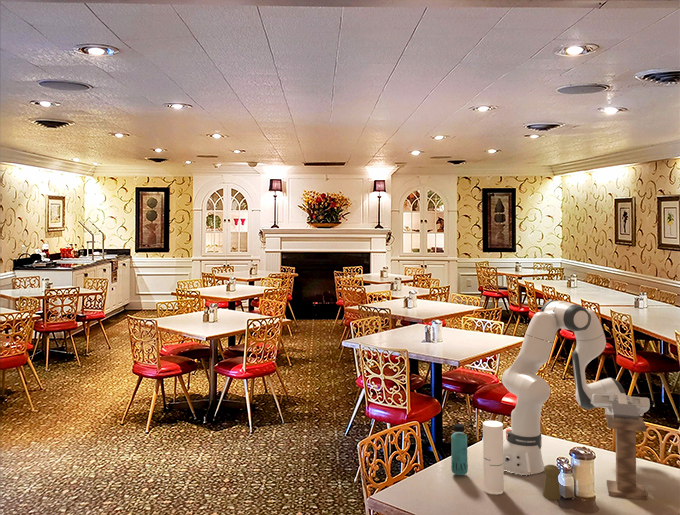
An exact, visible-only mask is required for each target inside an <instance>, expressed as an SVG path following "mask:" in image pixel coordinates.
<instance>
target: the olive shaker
mask: <svg viewBox="0 0 680 515" xmlns="http://www.w3.org/2000/svg"><path fill="white" fill-rule="evenodd" d="M543 472H544V474H545V477H544V485H543V492H542V496H543V498H545V499H547V500H550V501H560V500H561V499H560V497H561V498H562V495H561V490H560V482H559V476H560V468H559V467H558V466H557V465H555V464H547V465H544V471H543Z"/></svg>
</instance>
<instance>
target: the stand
mask: <svg viewBox="0 0 680 515" xmlns="http://www.w3.org/2000/svg"><path fill="white" fill-rule="evenodd" d="M605 420H606V423H607V428H608V430H609V429H610V430H611V429H612V430H615V480H610V479H606V489H607V493H608V496H609V497H611V496H612V497H620V498H626V499H636V500H641V501H642V500H643V501H647V500H648V499H647V498H648V495H647V492H646V490H645V487H644V484H643V483H637V432H643V433H644V432H645V433H647V430H648V428H647V426H646V424H645V420H644V419H643V416H639V424H635V423H624V422H614V421H613V415H609V414H606V415H605Z"/></svg>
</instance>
